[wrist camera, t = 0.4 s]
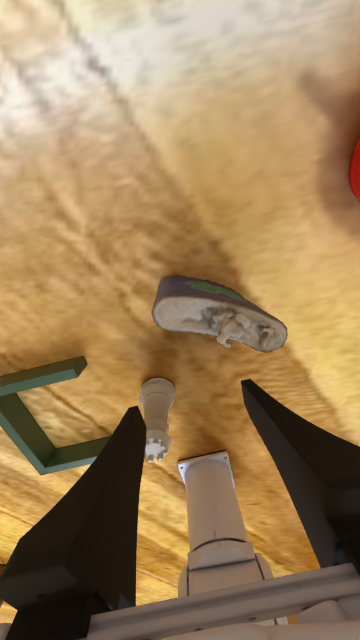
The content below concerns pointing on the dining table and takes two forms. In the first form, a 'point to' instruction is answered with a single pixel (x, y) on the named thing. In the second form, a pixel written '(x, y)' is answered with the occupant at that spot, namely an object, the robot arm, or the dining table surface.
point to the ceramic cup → (355, 171)
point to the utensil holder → (0, 570)
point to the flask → (215, 314)
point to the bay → (25, 432)
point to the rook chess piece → (157, 416)
